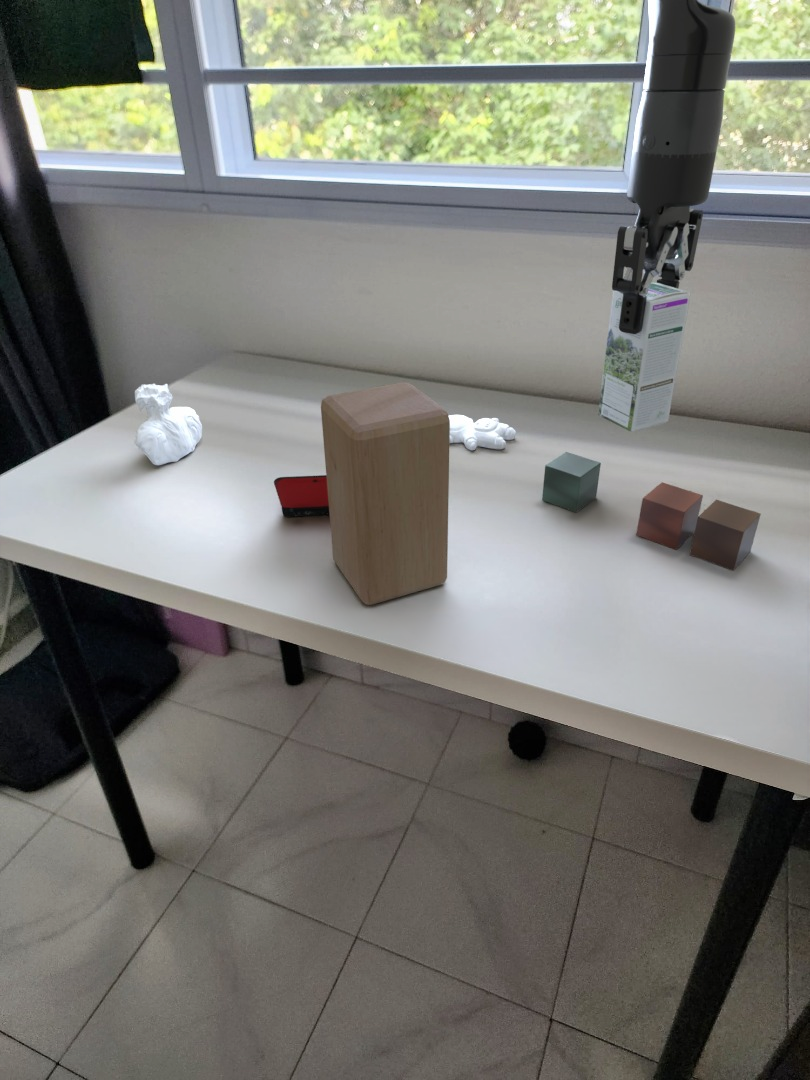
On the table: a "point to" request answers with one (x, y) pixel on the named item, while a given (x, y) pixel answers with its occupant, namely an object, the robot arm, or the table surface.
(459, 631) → the table surface
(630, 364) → the syrup box
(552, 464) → the block line
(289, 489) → the handheld console
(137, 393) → the bust
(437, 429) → the wooden block
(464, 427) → the astronaut figurine
